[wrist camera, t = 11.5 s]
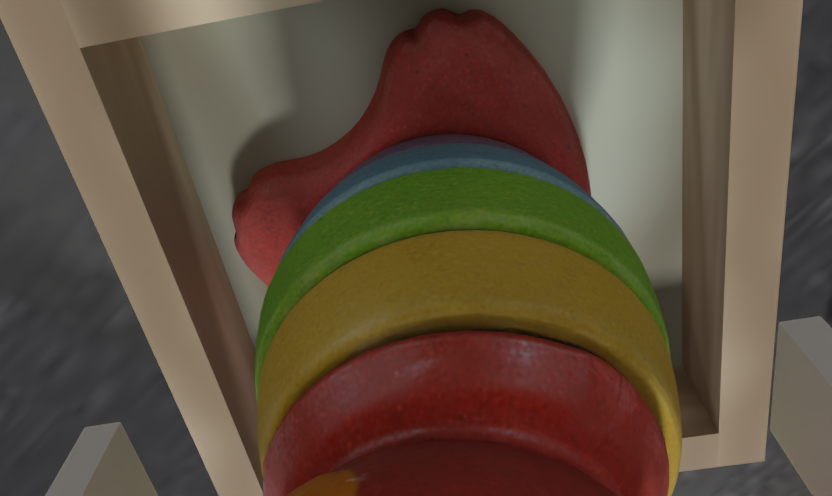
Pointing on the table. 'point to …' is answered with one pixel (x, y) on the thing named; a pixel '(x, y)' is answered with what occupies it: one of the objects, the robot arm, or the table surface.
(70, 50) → the open wooden box
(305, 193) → the stacking bear
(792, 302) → the table surface
